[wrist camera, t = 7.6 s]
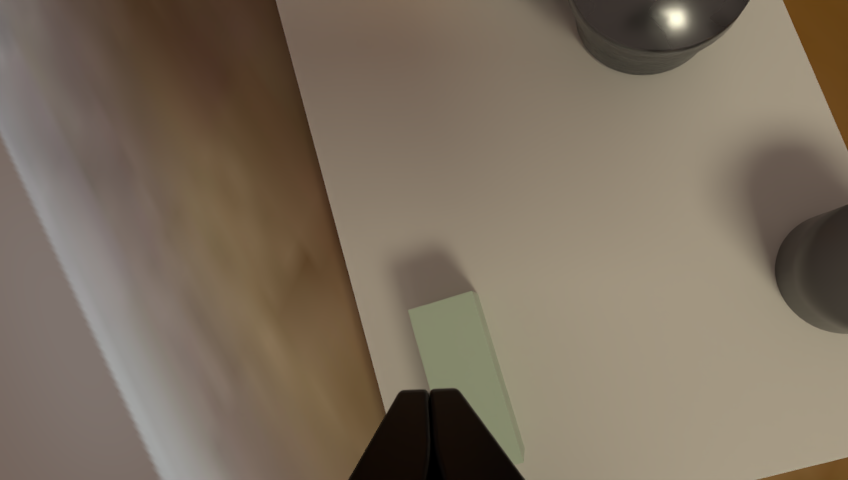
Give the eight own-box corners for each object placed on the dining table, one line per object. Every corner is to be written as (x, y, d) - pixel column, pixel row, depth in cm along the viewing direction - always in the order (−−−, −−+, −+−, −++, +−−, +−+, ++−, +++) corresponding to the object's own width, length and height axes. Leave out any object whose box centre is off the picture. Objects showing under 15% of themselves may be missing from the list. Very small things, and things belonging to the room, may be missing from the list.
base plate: (949, 418, 18) (1071, 446, 14) (431, 547, 20) (406, 604, 16) (689, -190, 22) (725, -307, 18) (276, -29, 24) (223, -101, 20)
